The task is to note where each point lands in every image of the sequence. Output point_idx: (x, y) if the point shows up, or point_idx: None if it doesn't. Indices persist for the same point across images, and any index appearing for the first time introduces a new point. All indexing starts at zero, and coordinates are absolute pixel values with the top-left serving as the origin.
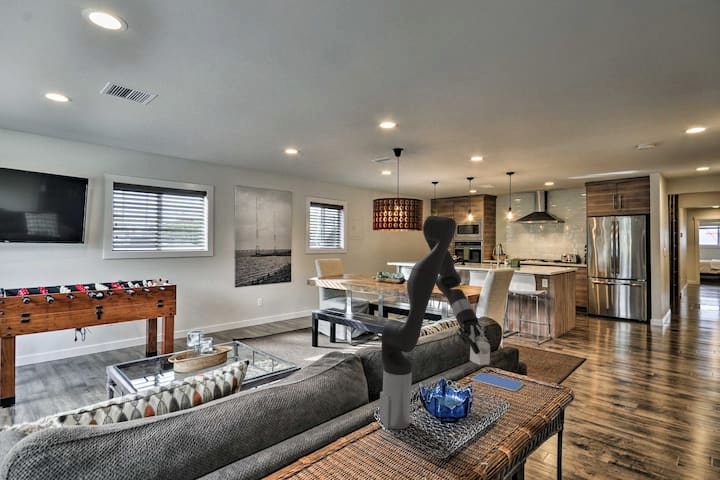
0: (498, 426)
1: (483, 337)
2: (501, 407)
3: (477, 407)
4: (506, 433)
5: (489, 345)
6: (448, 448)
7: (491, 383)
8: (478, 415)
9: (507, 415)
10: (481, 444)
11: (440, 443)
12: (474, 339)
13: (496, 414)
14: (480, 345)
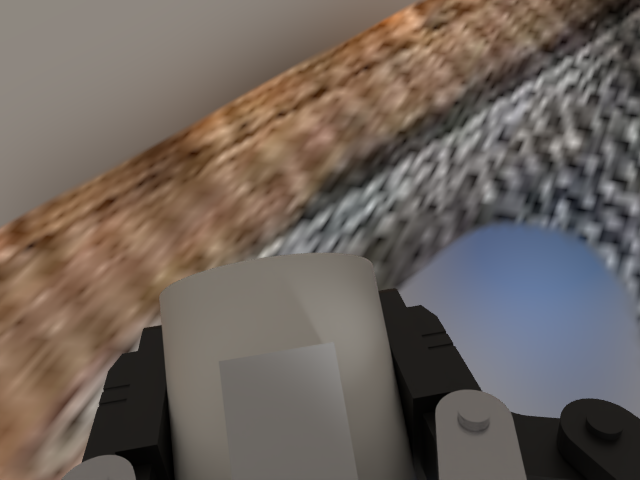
0: (318, 167)
1: (238, 368)
2: None
3: None
4: (319, 109)
5: (169, 293)
6: (613, 53)
7: None
8: None
9: (194, 264)
10: (473, 55)
11: (635, 86)
12: (439, 453)
13: None
14: (369, 278)
